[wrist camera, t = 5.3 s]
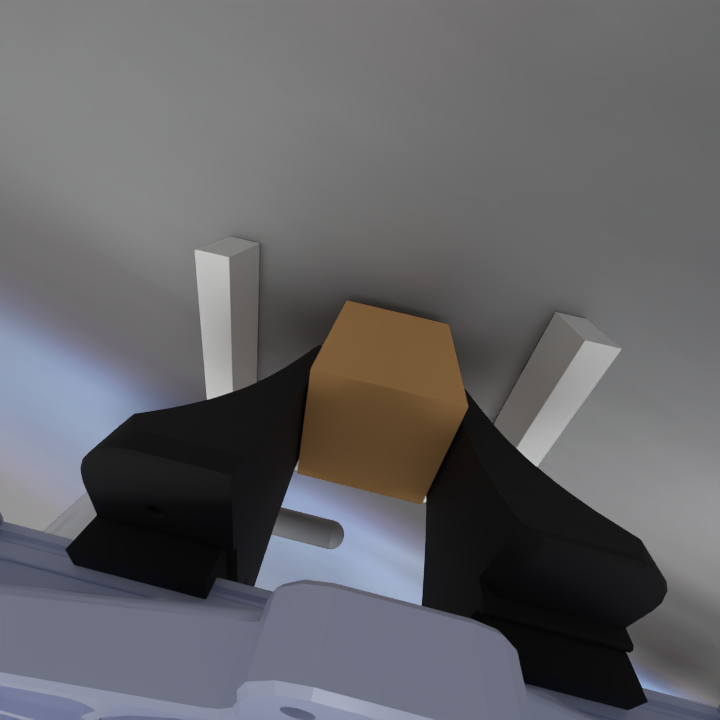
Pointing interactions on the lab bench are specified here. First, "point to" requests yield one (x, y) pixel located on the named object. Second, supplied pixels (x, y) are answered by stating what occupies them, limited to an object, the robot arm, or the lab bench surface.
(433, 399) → the tan wooden cube
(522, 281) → the lab bench surface
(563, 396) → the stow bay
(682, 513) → the lab bench surface
